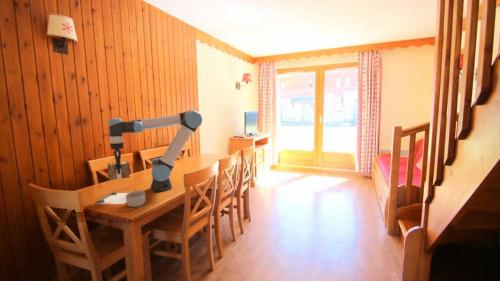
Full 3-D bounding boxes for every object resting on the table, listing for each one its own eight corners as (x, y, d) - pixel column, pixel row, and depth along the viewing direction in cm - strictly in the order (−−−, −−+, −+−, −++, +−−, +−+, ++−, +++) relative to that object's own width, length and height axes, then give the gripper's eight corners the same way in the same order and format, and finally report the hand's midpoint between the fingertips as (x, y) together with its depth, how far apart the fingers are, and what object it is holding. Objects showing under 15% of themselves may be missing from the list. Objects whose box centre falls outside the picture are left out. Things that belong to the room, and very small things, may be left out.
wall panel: (138, 193, 178) (138, 191, 178) (124, 204, 158) (123, 201, 158) (113, 193, 178) (112, 191, 178) (95, 204, 158) (95, 201, 158)
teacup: (143, 208, 152) (143, 195, 151) (124, 210, 150) (123, 197, 149) (148, 200, 166) (147, 188, 165) (130, 201, 164) (129, 189, 163)
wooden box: (129, 174, 172) (128, 161, 171) (129, 177, 165) (128, 163, 164) (109, 176, 167) (108, 163, 166) (108, 179, 160) (107, 165, 159)
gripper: (110, 141, 171) (113, 173, 174) (109, 145, 152) (112, 181, 155) (123, 140, 174) (125, 172, 177) (123, 144, 156) (126, 180, 159)
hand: (119, 176), depth 166 cm, fingers closed on wooden box, 8 cm apart
